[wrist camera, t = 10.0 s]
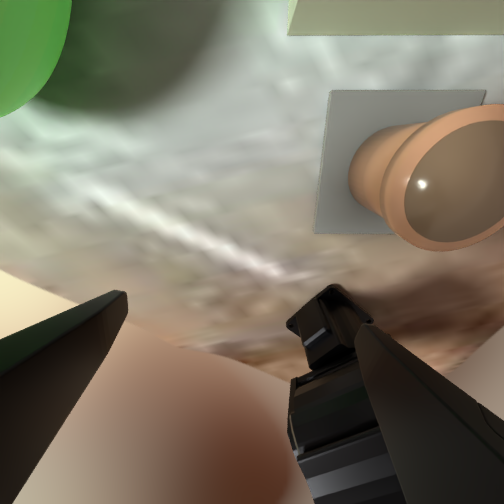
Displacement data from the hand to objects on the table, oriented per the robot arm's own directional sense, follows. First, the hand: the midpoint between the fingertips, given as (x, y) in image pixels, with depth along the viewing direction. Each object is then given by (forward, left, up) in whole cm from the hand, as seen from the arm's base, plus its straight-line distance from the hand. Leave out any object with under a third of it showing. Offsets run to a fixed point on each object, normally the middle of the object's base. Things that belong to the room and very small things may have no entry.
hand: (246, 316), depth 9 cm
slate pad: (-5, -10, -12) cm, 16 cm away
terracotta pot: (-5, -10, -11) cm, 16 cm away
